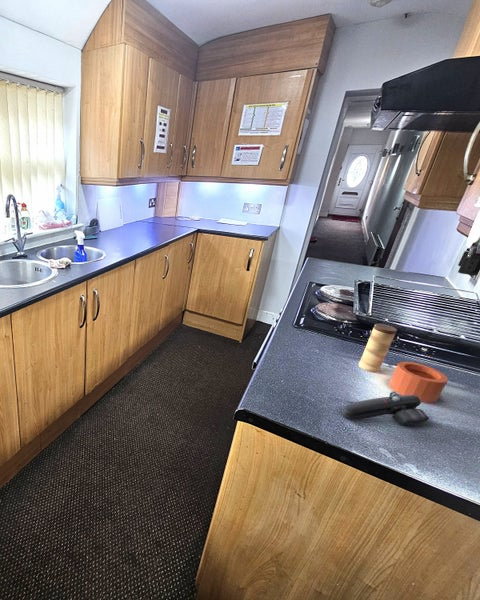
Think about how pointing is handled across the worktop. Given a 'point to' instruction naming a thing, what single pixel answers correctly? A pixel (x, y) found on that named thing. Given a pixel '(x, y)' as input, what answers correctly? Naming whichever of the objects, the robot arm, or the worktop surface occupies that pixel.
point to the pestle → (377, 347)
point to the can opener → (388, 409)
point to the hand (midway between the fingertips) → (466, 270)
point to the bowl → (418, 381)
